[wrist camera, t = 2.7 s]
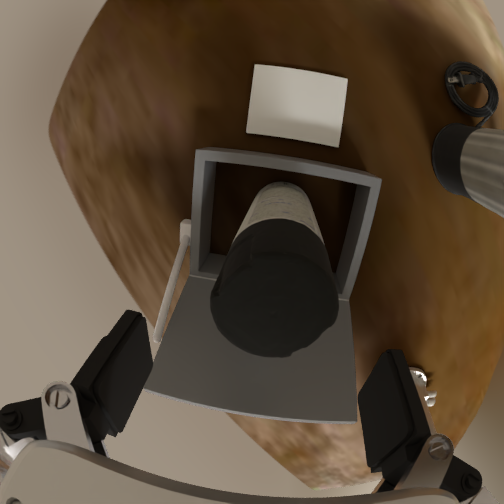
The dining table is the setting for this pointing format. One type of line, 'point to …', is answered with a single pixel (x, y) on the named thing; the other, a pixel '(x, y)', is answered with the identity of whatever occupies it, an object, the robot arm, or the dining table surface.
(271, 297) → the spray can
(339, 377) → the case
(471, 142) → the milk frother
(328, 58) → the dining table surface
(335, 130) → the pad
